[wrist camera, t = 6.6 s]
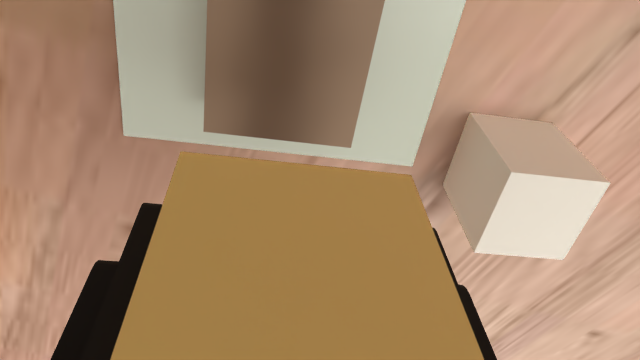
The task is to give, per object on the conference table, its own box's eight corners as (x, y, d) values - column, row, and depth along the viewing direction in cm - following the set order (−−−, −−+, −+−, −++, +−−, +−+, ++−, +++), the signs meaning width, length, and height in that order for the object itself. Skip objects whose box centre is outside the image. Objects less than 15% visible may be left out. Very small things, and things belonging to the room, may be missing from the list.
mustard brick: (411, 175, 11) (521, 456, 6) (363, 321, 13) (410, 595, 8) (180, 151, 10) (79, 450, 5) (180, 311, 13) (116, 605, 8)
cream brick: (551, 122, 27) (610, 182, 22) (517, 192, 30) (563, 259, 25) (469, 112, 27) (511, 172, 22) (442, 184, 29) (474, 252, 24)
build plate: (481, -64, 21) (486, -61, 21) (410, 160, 28) (412, 166, 28) (107, -132, 19) (102, -131, 19) (126, 130, 26) (123, 135, 25)
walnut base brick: (373, -18, 22) (385, -1, 19) (344, 119, 26) (350, 147, 23) (217, -43, 21) (207, -28, 18) (211, 103, 25) (203, 131, 22)
